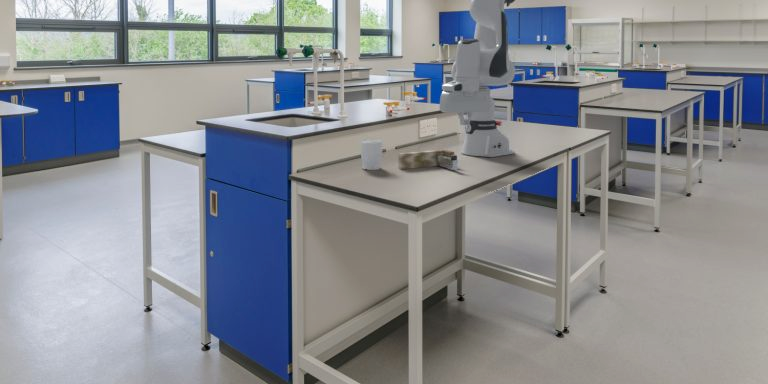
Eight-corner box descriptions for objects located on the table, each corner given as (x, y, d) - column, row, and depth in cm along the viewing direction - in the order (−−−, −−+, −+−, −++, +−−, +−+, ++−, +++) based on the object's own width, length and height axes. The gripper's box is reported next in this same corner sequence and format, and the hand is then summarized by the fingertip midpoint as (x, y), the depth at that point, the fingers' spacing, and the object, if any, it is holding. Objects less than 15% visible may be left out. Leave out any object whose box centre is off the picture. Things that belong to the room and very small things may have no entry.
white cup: (368, 171, 220) (368, 143, 217) (356, 167, 226) (356, 140, 224) (386, 169, 224) (386, 141, 222) (373, 165, 231) (374, 138, 228)
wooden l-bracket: (445, 163, 235) (445, 149, 234) (453, 166, 230) (454, 151, 229) (398, 168, 226) (398, 153, 225) (406, 171, 221) (406, 156, 220)
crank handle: (435, 164, 231) (435, 151, 229) (441, 164, 232) (442, 150, 231) (451, 170, 221) (452, 156, 220) (458, 169, 222) (458, 155, 221)
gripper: (484, 84, 227) (482, 122, 230) (438, 85, 217) (436, 124, 220) (495, 85, 221) (493, 124, 224) (448, 86, 212) (446, 126, 215)
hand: (464, 124), depth 222 cm, fingers closed
